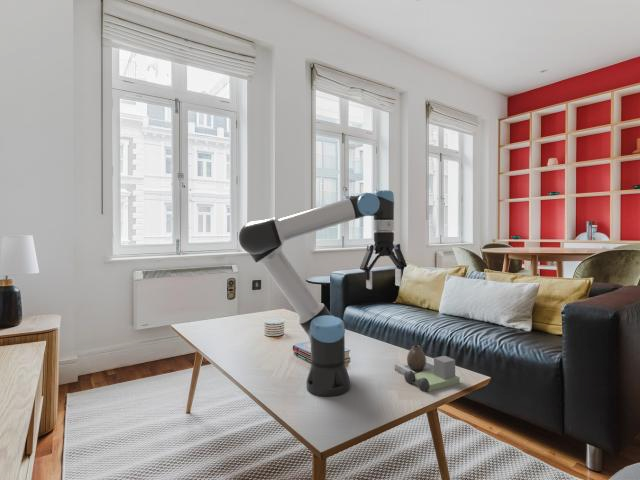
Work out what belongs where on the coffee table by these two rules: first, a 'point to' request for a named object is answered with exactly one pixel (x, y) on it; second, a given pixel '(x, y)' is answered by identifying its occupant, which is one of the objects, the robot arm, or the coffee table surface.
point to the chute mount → (406, 368)
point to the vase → (416, 358)
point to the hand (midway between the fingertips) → (383, 287)
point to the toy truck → (435, 375)
